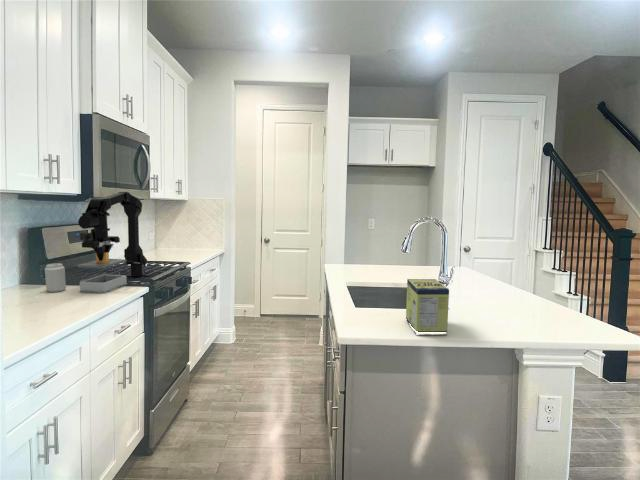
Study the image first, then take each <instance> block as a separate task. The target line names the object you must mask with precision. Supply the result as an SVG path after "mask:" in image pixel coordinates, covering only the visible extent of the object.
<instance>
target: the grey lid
mask: <svg viewBox="0 0 640 480" xmlns="http://www.w3.org/2000/svg"><path fill="white" fill-rule="evenodd" d="M109 253H110V252H109ZM109 253H108V252H104V255H103V260H102V261H99V258H98V256H97V254H96V253H95V260H92V261H88V262H85V263H84V262H83V263H80V264H76V267H77V268H85V269H106V268H110V267H112V266H116V265H119V264H123V263H126V259H125V258H123V259H121V258H109V257H110V256H109Z"/></svg>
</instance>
